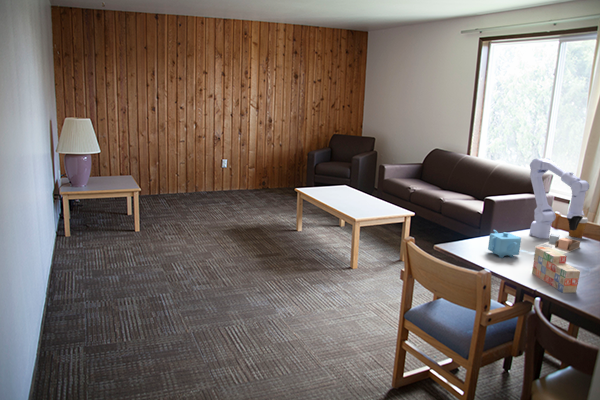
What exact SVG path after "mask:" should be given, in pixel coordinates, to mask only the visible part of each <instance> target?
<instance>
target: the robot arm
mask: <svg viewBox="0 0 600 400" xmlns="http://www.w3.org/2000/svg"><path fill="white" fill-rule="evenodd" d="M529 167H530V173H529V174H530V175H529V177H530V180H531V181H530V182H531V185H532V189H533V193H534V194H533V195H534V199H535V203H536V208H535V209H534V210H533V211H534V216H533V217H534V218H533V219H534V220H533V221H532V222H531V224H530V229H529V234H528V235H529V236H533V237H536V238H537V239H549V237H550V235H551V229H552V228H551V227H552V224H553V222H554V221H555V220H556V217H557V216H556V213H555V211H554V210H553V207H552V205H549V202H548V197H547V193H546V189H545V185H544V180H543V176H544V175H545V174H546V173H547V172H548V171H550V172H551V173H554V175H557V176H558V177H560V180H561V181H562V182H563V183H565V184H566V185H567V186H569V187H570V190H571V200H570V205H569V211H568V213H567V214H566V219H567V222H568V230H569V229H570V230H573V231H574V230H576V229H577V226H578V224H579V222H580V221H581V220H582V218H583V217H585V213H584V204H585V198H586V194H587V192H588V191H589V189H590V183H589V182H588V181H587V180H585V179H582V178H581V177H578V176H577V175H575V174H574V172H572V171H567V172H566V170H564V169H563V168H561V167H560V165H558V164H556V163H555V162H554V161H553V160H552V159H550V158H548V157H546V158H534V159H532V160H531V162H530V163H529ZM582 216H583V217H582Z"/></svg>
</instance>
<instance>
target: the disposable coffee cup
mask: <svg viewBox="0 0 600 400" xmlns="http://www.w3.org/2000/svg"><path fill="white" fill-rule="evenodd" d="M581 216H582V215H581ZM582 217H583V218H582V220H581V221H580V222H579V224H578V226H577V229H576V230H574V231H573V230H570V229H569V228H568V237H570V238H571V237H572V238H578V239H582V238H583V235H584V232H585V229H586V226H587V223H588V222H589V219H588V217H586V216H582Z"/></svg>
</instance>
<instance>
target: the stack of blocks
mask: <svg viewBox="0 0 600 400" xmlns="http://www.w3.org/2000/svg"><path fill="white" fill-rule="evenodd" d="M534 248H535V249H534V250H535V251H534V257H533V263H532V264H533V266H532V271H531V273H532V274H533V275H535V276H536V277H537V278H539V279H540V280H542V281H544V282H545V283H546V284H548V285H550V286H552V287H553V288H555V289H556V290H558V291H559V292H561V293H563V294H565V293H577V291H578V285H579V279H580V274H581V270H579V269H577V268H576V267H574V266H572V265H570V264H568V263H567V255H566V254H561V253H559V252H557V251H555V250H553V249H552V247H551V246H544V247H534Z"/></svg>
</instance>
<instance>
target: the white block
mask: <svg viewBox="0 0 600 400" xmlns="http://www.w3.org/2000/svg"><path fill="white" fill-rule="evenodd" d="M559 239H560V235H559V234H554V233H550V235H549V238H548V242H549V243H552V244H555V243H556V241H557V240H559Z"/></svg>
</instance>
